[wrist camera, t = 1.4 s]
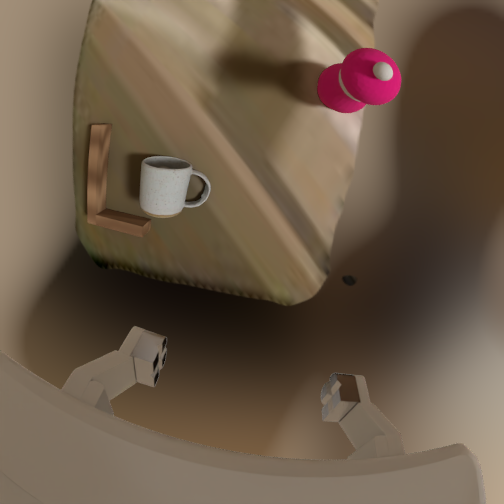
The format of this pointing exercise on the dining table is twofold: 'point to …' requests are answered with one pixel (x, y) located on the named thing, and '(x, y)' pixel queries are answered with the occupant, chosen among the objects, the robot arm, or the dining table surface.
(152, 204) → the ceramic mug
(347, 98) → the pepper mill
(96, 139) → the walnut stop
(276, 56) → the dining table surface
